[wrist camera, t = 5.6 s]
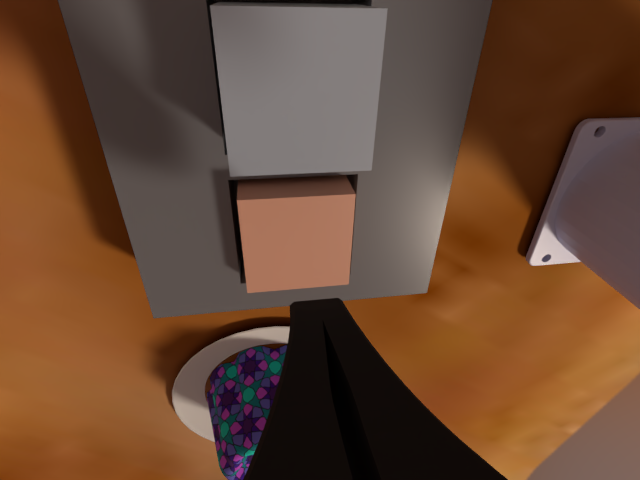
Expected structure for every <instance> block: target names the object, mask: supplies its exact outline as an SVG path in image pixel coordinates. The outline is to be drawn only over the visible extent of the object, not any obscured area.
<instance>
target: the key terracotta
mask: <svg viewBox="0 0 640 480" xmlns="http://www.w3.org/2000/svg"><path fill="white" fill-rule="evenodd" d="M355 198H356V194H355V192H354V190H353V188H352V186H351V184H350V182H349V180H348V178H347V176H346V175H329V176H307V177H285V178H263V179H241V180H238V191H237V205H238V214H239V223H240V232H241V241H242V250H243V259H244V268H245V277H246V286H247V293H255V292H267V291H278V290H290V289H301V288H313V287H325V286H336V285H348V284H349V275H350V262H351V249H352V236H353V223H354V210H355Z"/></svg>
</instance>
